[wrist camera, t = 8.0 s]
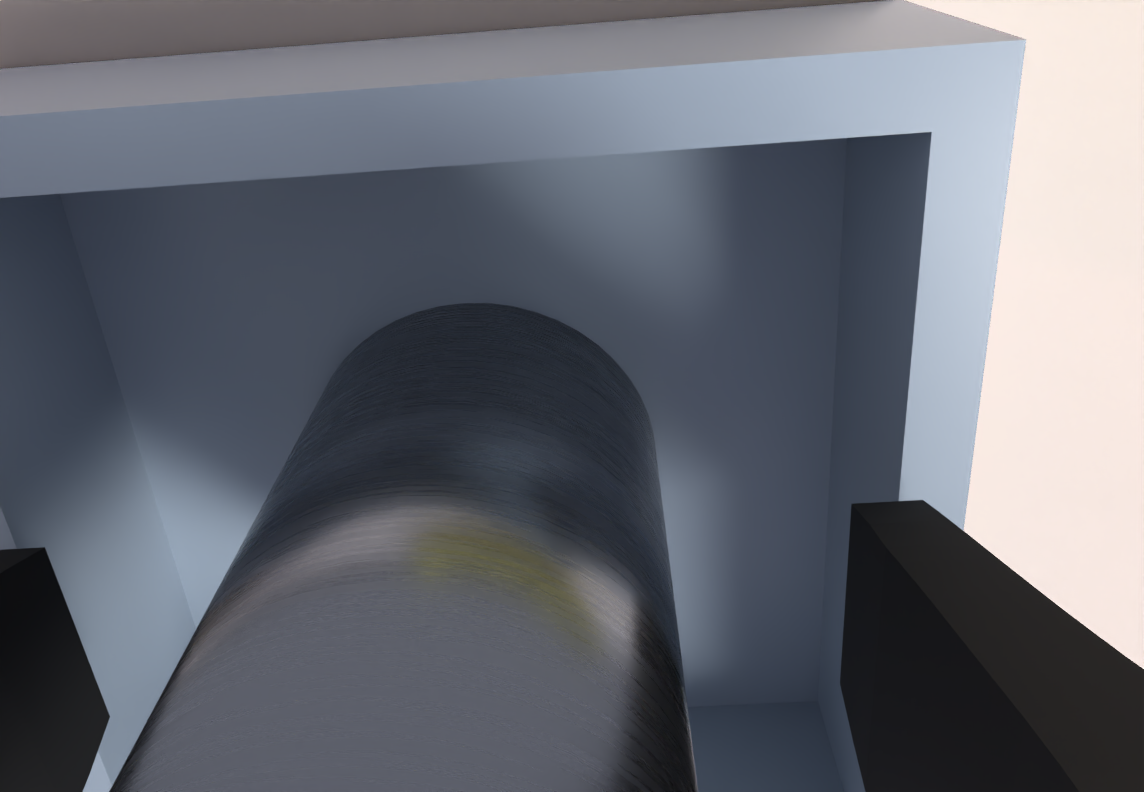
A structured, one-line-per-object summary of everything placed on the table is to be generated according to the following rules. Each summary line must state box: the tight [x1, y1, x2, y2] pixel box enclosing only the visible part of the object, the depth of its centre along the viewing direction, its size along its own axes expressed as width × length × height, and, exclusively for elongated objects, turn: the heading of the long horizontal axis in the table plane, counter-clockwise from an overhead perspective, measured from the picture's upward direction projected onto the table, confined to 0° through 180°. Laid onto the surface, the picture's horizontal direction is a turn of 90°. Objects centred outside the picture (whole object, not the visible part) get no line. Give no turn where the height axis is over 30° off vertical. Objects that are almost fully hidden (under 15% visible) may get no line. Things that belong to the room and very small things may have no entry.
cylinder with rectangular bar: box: [109, 303, 698, 792], centre depth 8 cm, size 4×4×7 cm
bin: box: [0, 0, 1026, 792], centre depth 11 cm, size 9×9×3 cm
